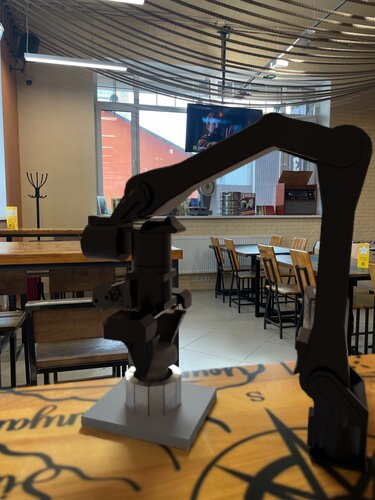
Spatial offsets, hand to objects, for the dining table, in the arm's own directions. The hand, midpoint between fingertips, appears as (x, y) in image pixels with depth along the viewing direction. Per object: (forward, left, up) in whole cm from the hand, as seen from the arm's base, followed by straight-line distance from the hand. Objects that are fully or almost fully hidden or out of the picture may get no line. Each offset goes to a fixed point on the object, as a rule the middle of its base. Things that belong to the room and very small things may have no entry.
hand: (153, 366), depth 57 cm
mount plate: (0, 0, -7) cm, 7 cm away
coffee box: (-24, -19, -7) cm, 31 cm away
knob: (0, 0, -2) cm, 2 cm away
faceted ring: (0, 0, -5) cm, 5 cm away
